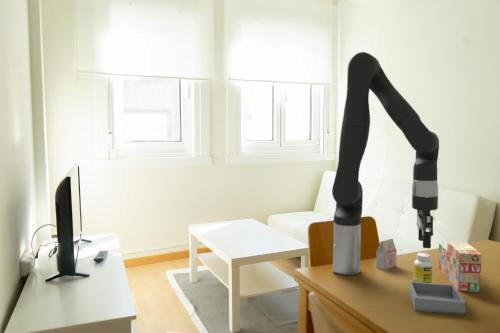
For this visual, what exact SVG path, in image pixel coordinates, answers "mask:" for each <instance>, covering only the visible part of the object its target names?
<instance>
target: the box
mask: <svg viewBox="0 0 500 333" xmlns="http://www.w3.org/2000/svg"><path fill="white" fill-rule="evenodd" d="M407 292H408V297H409V298H410V302H411V305H412V307H413V310H414V311H419V312H426V313H427V312H428V313H439V314H447V315H449V314H450V315H458V316H466V301H465V300H464V298H463V297H462V295H461V294H460V291H458V290H457V289H456V287H455V286H454V285H453V284H447V283H446V284H444V283H435V282H432V283H423V282H413V281H410V280H409V281H408V290H407Z"/></svg>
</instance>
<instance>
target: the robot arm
mask: <svg viewBox="0 0 500 333" xmlns="http://www.w3.org/2000/svg"><path fill="white" fill-rule="evenodd" d="M346 74H347V81H346V83H347V84H346V96H345V97H346V98H345V101H344V102H345V104H344V110H343V116H342V121H341V122H342V123H341V130H340V135H339V136H340V137H339V138H340V139H339V148H338V161H337V168H336V171H335V177H334V180H333V185H332V188H331V193H332V195H331V196H332V198H333V199H334V200H333V201H335V211H334V215H333V244H332V245H333V246H332V273H337V274H340V275H344V276H346V275H347V276H354V275H357V274H359V273H360V272H361V233H362V232H361V229H362V228H361V227H362V226H361V224H362V222H361V220H362V214H363V195H364V194H363V193H364V191H363V186H362V184H361V182H360V181H359V176H360V175H359V174H360V167H361V163H362V160H363V157H364V155H365V152H366V148H367V146H368V141H369V135H370V129H371V112H370V101H369V96H370V95H369V94H370V91H371V92H372V93H373V94H374V95H375V97H376V98H377V99H378V101H379V102H380V104H381V105H382V107H383V109H384V111H385V113H386V114H387V115H388V116H389V118H390V119H391V120H392V121H393V123H394V124H395V125H396V127H398V129H399V130H400V131H401V132H402V134H403V136H404V137H405V139H406V140H407V141H408V143H409V145H410V146H411V147H412V149H413V150H414V151H415V162H414V164H413V167H412V168H413V170H412V185H411V186H412V188H411V198H412V199H411V207H412V209H414V210H416V213H417V214H416V226H417V230H418V234H417V235H418V237H417V238H418V239H417V240H418V241H420V242H422V248H423V249H431V247H432V243H431V242H432V236H434V233H433V232H434V216H433V215H432V214H431V211H437V210H438V208H439V184H438V160H439V152H440V151H439V150H440V139H439V137H438V135H437V133H435V132H434V131H431V130H430V129H429V128H428V127H427V126H426V125H425V124H424V123H423V122H422V120H421V117H420V115H419V114H418V112H416V110H415V109H414V108H413V107H412V105H411V104H410V103H409V102H408V101H407V99H406V98H405V97H403V95H402V94H401V93H400V92H399V91H398V90H397V89H396V88H395V86H394V85H393V84H392V82H391V81H390V80H389V78H388V76H387V75H386V73H385V71H384V70H383V68H382V66H381V64H380V61H379V60H378V59H377V58H376V57H375V56H373V55H372V54H370V53H368V52H366V51H359V52H357V53H355V54H353V56H352V57H351V58H350V59H349V61H348V63H347V73H346Z"/></svg>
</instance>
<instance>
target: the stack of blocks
mask: <svg viewBox="0 0 500 333" xmlns="http://www.w3.org/2000/svg"><path fill="white" fill-rule="evenodd" d="M438 269H440V272H442V273H443V275H444V276H445V277H446V278H447V279H448V281H450V283H451V285H454V286H455V287H456V289H457V290H458V292H468V293H480V292H481V289H480V288H481V273H482V272H481V271H482V253H481V252H479V250H478V249H476V248H475V247H473V246H472V245H470V244H469V243H467V242H452V241H451V242H450V241H448V242H447V243H438Z"/></svg>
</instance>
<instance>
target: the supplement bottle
mask: <svg viewBox="0 0 500 333" xmlns="http://www.w3.org/2000/svg"><path fill="white" fill-rule="evenodd" d="M432 279H433V262H432V261H431V254H429V253H427V252H418V253H416V259H415V260H414V262H413V279H412V280H413V281H412V282H423V283H433V282H432V281H433V280H432Z"/></svg>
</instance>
